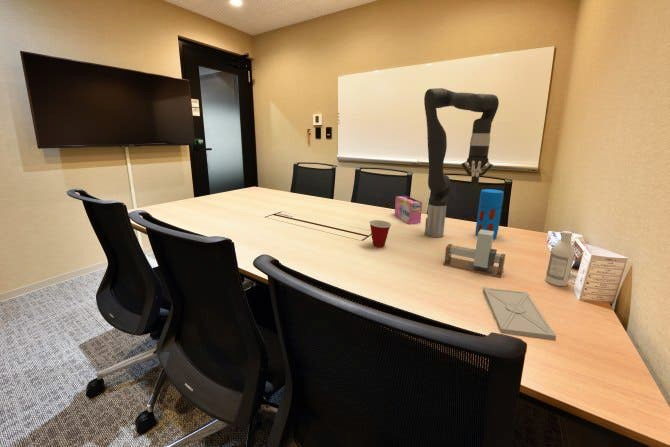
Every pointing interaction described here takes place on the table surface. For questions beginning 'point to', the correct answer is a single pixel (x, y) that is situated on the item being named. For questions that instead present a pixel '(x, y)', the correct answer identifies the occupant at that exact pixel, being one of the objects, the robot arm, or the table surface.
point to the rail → (469, 265)
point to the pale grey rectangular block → (483, 248)
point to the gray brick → (491, 257)
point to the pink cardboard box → (408, 209)
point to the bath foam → (561, 261)
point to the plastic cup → (379, 232)
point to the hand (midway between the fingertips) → (474, 185)
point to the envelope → (517, 313)
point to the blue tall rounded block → (489, 211)
